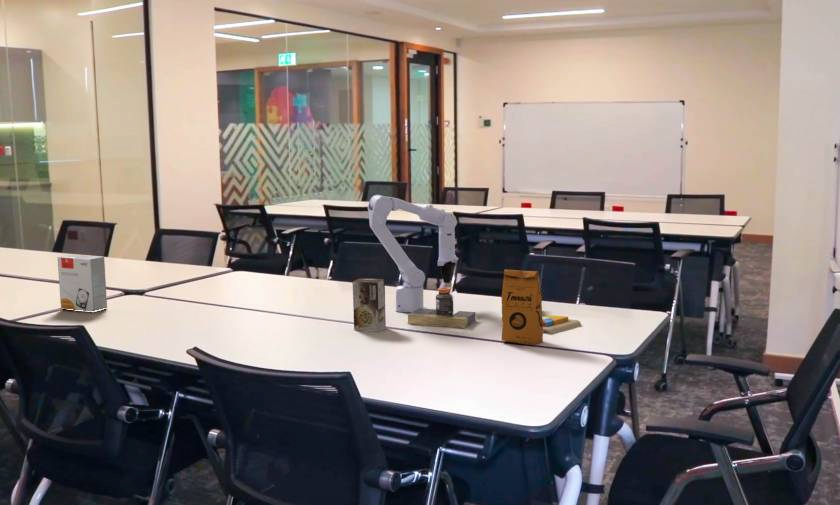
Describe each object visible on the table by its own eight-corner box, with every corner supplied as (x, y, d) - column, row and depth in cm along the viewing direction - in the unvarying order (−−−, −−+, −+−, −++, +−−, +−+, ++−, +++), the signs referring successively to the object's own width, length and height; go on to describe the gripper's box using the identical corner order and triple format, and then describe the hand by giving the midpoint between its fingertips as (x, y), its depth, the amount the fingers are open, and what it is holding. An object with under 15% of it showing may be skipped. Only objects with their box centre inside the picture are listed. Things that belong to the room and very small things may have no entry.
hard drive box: (60, 310, 294) (56, 256, 292) (76, 306, 302) (72, 254, 299) (92, 313, 289) (89, 258, 286) (108, 309, 296) (105, 256, 293)
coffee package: (536, 348, 235) (537, 274, 232) (496, 343, 241) (497, 271, 238) (547, 340, 244) (548, 269, 241) (509, 336, 250) (509, 266, 247)
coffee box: (386, 327, 263) (385, 278, 261) (379, 331, 257) (378, 282, 255) (360, 325, 266) (359, 277, 264) (352, 330, 260) (351, 280, 258)
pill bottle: (456, 319, 273) (456, 287, 272) (449, 323, 268) (448, 290, 266) (440, 318, 276) (440, 285, 274) (432, 321, 271) (432, 288, 269)
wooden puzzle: (536, 318, 277) (536, 308, 276) (582, 327, 263) (582, 316, 263) (503, 326, 265) (503, 316, 264) (550, 336, 251) (550, 325, 251)
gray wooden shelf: (407, 323, 268) (407, 314, 268) (420, 316, 279) (420, 308, 278) (464, 328, 261) (465, 319, 261) (475, 320, 272) (475, 312, 271)
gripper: (450, 248, 282) (451, 286, 283) (463, 243, 295) (463, 279, 297) (431, 247, 284) (432, 285, 286) (445, 242, 297) (445, 279, 299)
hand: (447, 282), depth 292 cm, fingers closed
